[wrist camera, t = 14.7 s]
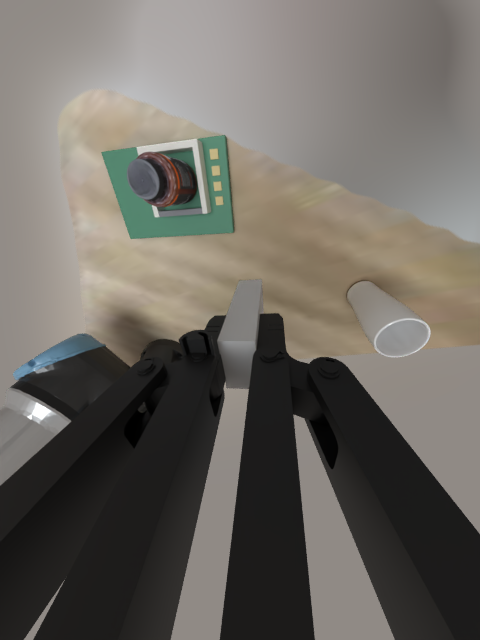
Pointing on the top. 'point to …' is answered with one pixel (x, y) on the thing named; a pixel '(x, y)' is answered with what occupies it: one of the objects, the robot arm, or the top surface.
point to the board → (185, 219)
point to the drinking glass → (387, 321)
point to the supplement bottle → (161, 179)
